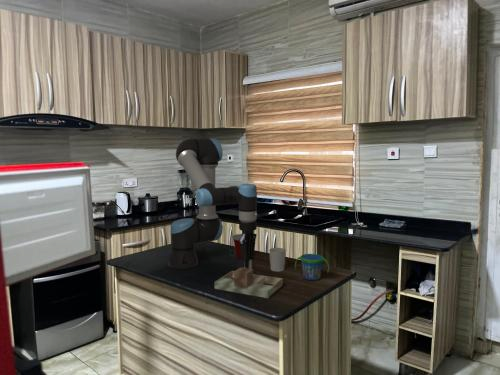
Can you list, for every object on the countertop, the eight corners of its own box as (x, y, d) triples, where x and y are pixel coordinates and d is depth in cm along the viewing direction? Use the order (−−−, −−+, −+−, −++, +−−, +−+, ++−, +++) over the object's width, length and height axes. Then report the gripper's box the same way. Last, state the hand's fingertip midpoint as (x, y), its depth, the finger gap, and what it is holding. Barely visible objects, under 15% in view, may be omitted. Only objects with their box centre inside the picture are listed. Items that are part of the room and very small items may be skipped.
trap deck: (214, 288, 163) (214, 281, 162) (232, 277, 177) (232, 270, 177) (268, 298, 152) (268, 291, 152) (282, 285, 166) (282, 278, 166)
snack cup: (330, 276, 177) (331, 255, 176) (326, 284, 167) (327, 261, 166) (298, 272, 183) (298, 252, 181) (292, 279, 173) (292, 258, 172)
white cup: (284, 272, 183) (284, 252, 182) (268, 271, 184) (268, 251, 183) (286, 267, 191) (286, 248, 190) (270, 266, 192) (270, 247, 191)
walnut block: (234, 285, 158) (233, 271, 157) (240, 281, 163) (240, 267, 163) (247, 287, 155) (247, 273, 155) (253, 283, 161) (253, 269, 160)
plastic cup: (237, 261, 201) (237, 239, 200) (229, 256, 211) (229, 235, 209) (255, 258, 206) (255, 237, 205) (246, 253, 216) (246, 233, 214)
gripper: (249, 224, 154) (249, 280, 156) (262, 218, 165) (262, 270, 168) (232, 222, 157) (233, 277, 159) (246, 217, 168) (246, 268, 171)
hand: (247, 274), depth 164 cm, fingers closed
